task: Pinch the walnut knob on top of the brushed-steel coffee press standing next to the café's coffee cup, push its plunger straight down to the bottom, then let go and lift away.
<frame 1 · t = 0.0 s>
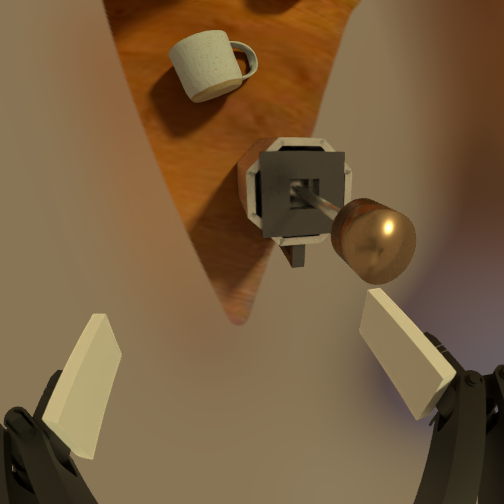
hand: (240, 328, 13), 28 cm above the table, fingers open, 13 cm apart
carafe: (276, 176, 38), on the table
plunger: (326, 207, 21), point 19 cm above the table, slide at 0.0 cm
ceramic mug: (216, 69, 31), on the table
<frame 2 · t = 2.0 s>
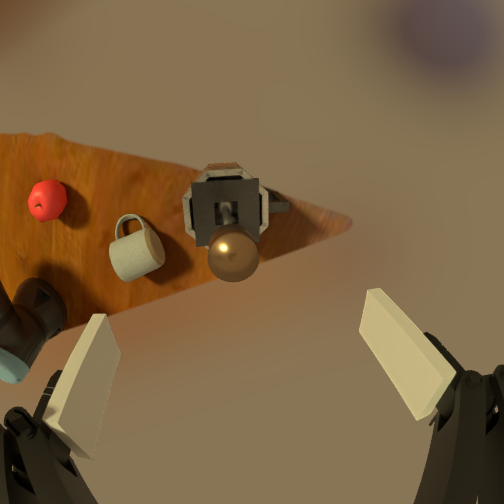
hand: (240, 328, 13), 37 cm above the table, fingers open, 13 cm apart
carafe: (223, 194, 47), on the table
plunger: (228, 226, 29), point 19 cm above the table, slide at 0.0 cm
apple: (57, 196, 42), on the table
ceramic mug: (138, 240, 48), on the table
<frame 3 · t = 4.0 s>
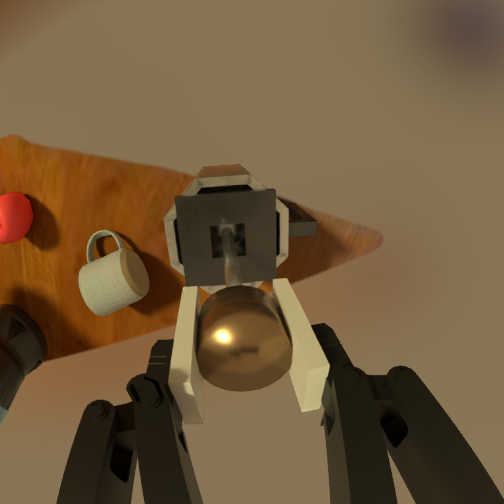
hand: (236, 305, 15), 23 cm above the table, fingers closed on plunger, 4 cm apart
carafe: (223, 206, 36), on the table
plunger: (232, 269, 19), point 19 cm above the table, slide at 0.0 cm, touching gripper
apple: (23, 210, 31), on the table
ceramic mug: (117, 261, 37), on the table
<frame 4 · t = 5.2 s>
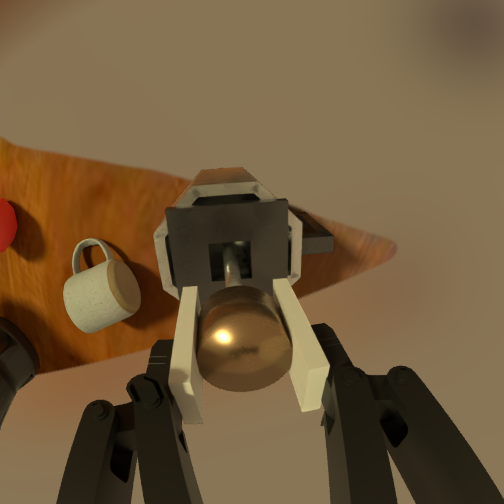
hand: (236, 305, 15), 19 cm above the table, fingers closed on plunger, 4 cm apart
carafe: (224, 214, 32), on the table
plunger: (231, 269, 19), point 14 cm above the table, slide at 4.3 cm, touching gripper
apple: (7, 218, 27), on the table
ceramic mug: (105, 272, 33), on the table
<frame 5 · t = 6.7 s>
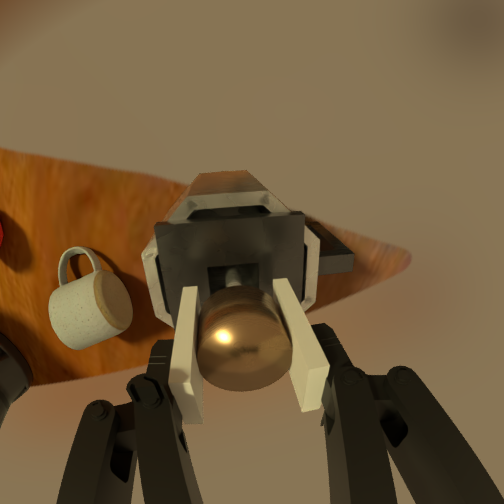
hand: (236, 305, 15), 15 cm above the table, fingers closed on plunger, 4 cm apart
carafe: (226, 223, 29), on the table
plunger: (232, 269, 19), point 11 cm above the table, slide at 8.0 cm, touching gripper
ceramic mug: (95, 283, 29), on the table
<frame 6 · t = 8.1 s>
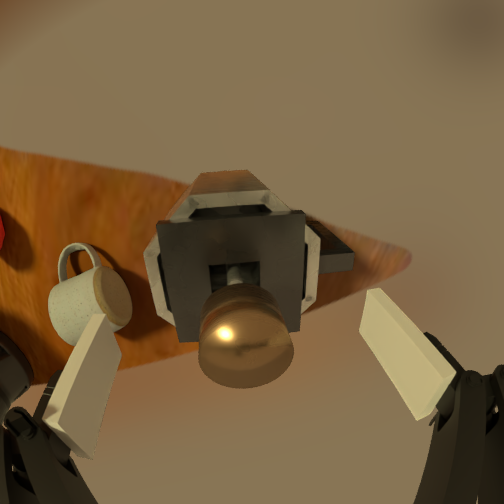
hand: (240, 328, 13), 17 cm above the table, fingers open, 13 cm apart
carafe: (227, 223, 29), on the table
plunger: (233, 268, 19), point 11 cm above the table, slide at 8.0 cm
ceramic mug: (94, 280, 30), on the table
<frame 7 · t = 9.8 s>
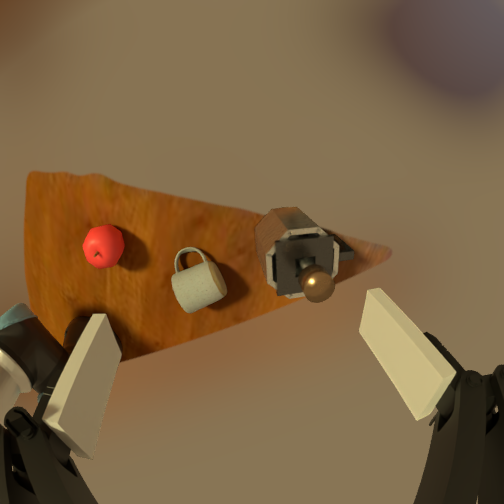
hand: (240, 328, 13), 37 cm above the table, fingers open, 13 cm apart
carafe: (284, 236, 51), on the table
plunger: (300, 259, 41), point 11 cm above the table, slide at 8.0 cm
apple: (110, 239, 47), on the table
ceramic mug: (196, 270, 52), on the table
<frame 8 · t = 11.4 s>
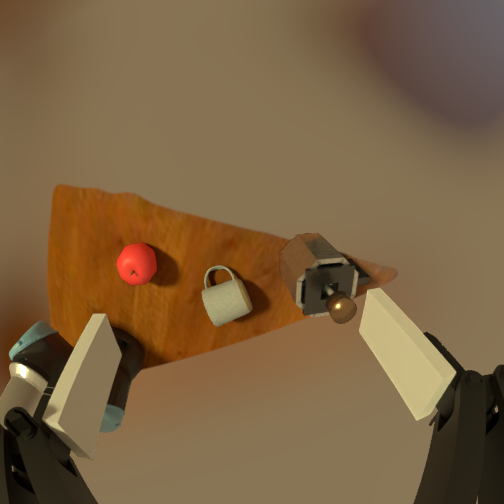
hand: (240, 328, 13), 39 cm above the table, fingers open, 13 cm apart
carafe: (306, 258, 56), on the table
plunger: (324, 284, 46), point 11 cm above the table, slide at 8.0 cm
apple: (141, 256, 51), on the table
ceramic mug: (223, 286, 56), on the table
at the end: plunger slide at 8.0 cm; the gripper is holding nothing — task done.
